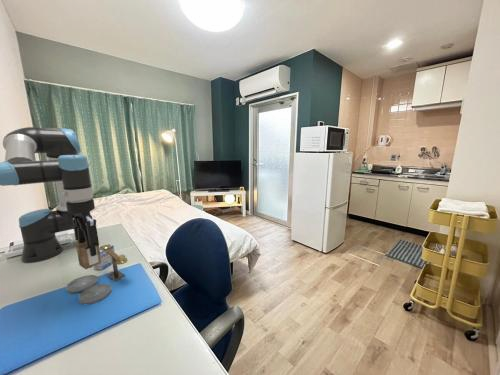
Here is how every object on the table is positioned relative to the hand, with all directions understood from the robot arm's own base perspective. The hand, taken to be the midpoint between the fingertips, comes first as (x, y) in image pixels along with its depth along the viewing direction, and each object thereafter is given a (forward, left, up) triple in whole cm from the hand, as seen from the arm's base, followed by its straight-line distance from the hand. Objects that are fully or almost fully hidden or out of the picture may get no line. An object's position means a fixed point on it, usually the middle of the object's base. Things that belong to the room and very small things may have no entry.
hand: (90, 260), depth 76 cm
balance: (-5, +10, -14) cm, 18 cm away
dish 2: (0, 0, -14) cm, 14 cm away
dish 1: (-11, 0, -14) cm, 18 cm away
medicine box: (-19, +12, -15) cm, 27 cm away
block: (0, 0, -1) cm, 1 cm away
